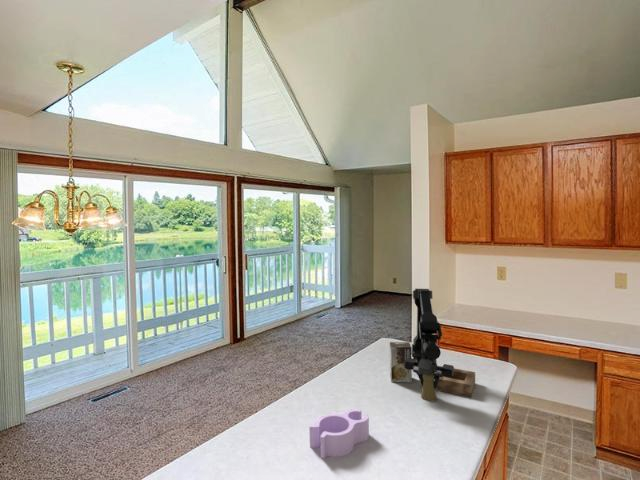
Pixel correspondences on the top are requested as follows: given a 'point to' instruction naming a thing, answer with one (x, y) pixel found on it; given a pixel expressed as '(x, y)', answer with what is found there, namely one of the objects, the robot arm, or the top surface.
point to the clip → (339, 432)
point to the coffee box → (400, 362)
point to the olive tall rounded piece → (428, 388)
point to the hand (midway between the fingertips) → (428, 387)
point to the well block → (458, 383)
